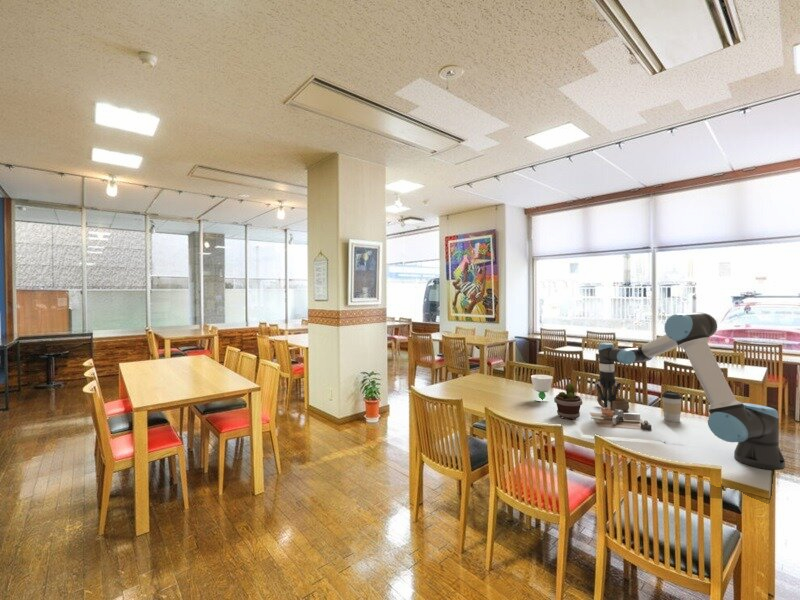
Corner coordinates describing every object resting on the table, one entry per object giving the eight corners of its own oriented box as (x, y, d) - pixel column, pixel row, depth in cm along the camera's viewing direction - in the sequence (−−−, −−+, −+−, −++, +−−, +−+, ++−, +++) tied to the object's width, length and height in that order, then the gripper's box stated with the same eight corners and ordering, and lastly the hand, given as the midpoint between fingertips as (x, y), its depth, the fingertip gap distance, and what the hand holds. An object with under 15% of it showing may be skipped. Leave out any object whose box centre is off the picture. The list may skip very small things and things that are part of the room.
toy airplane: (652, 433, 188) (651, 421, 188) (596, 429, 195) (596, 418, 195) (637, 418, 211) (636, 407, 211) (587, 415, 218) (587, 405, 218)
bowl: (590, 408, 225) (592, 391, 227) (600, 410, 234) (601, 394, 236) (623, 414, 212) (624, 396, 214) (632, 416, 220) (633, 399, 222)
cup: (526, 398, 254) (526, 375, 254) (543, 396, 258) (543, 373, 258) (540, 404, 241) (539, 379, 241) (557, 402, 245) (557, 377, 245)
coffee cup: (685, 422, 201) (685, 394, 201) (666, 422, 203) (666, 394, 203) (677, 417, 210) (676, 390, 210) (658, 416, 212) (658, 390, 212)
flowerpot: (575, 423, 205) (575, 386, 205) (549, 416, 217) (548, 381, 216) (587, 417, 214) (587, 382, 214) (561, 411, 226) (561, 377, 226)
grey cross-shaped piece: (641, 421, 200) (640, 411, 200) (614, 426, 194) (614, 415, 194) (615, 413, 215) (615, 403, 215) (589, 417, 209) (589, 407, 209)
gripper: (615, 369, 214) (616, 410, 214) (592, 369, 215) (593, 411, 215) (622, 371, 206) (623, 414, 207) (597, 372, 208) (599, 415, 208)
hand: (608, 412), depth 211 cm, fingers closed
